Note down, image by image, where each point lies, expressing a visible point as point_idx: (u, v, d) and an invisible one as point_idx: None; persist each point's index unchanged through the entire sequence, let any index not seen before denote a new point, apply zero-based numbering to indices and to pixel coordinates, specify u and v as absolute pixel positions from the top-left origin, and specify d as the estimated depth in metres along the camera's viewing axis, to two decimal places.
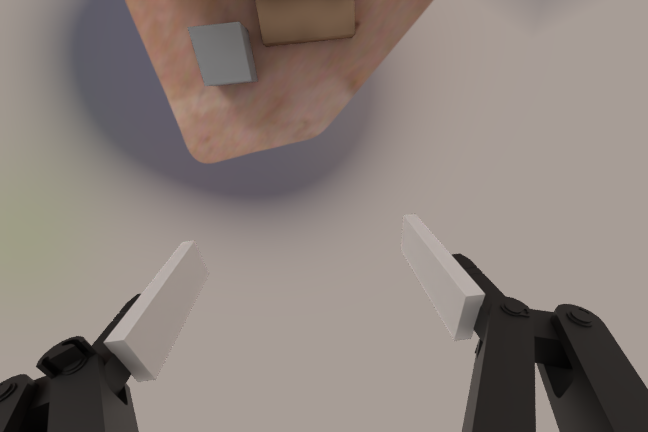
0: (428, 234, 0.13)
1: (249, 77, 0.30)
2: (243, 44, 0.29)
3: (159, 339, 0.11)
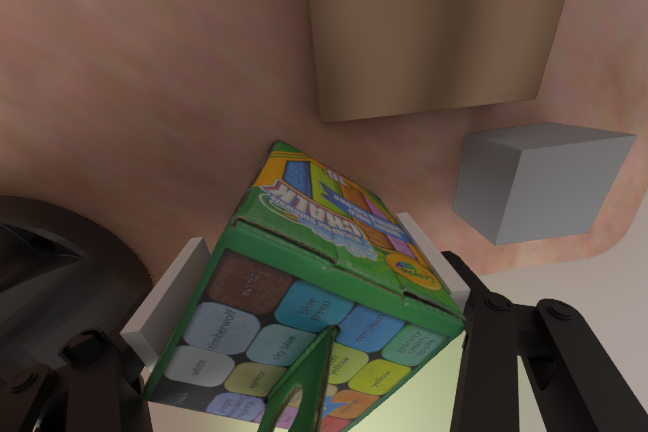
0: (419, 232, 0.13)
1: (628, 139, 0.12)
2: (561, 145, 0.12)
3: (171, 332, 0.11)
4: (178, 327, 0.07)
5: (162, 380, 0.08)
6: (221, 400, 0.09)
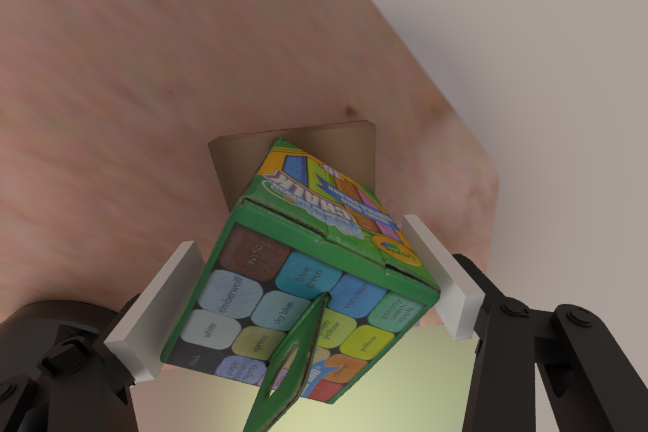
0: (428, 234, 0.13)
1: None
2: None
3: (159, 339, 0.11)
4: (194, 292, 0.08)
5: (179, 342, 0.10)
6: (229, 362, 0.10)
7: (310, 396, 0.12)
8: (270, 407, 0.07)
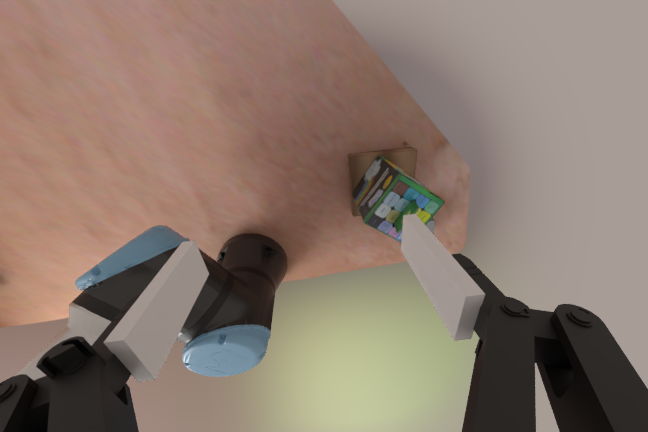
0: (428, 234, 0.13)
1: (432, 221, 0.47)
2: None
3: (159, 339, 0.11)
4: (383, 198, 0.34)
5: (373, 214, 0.35)
6: (383, 223, 0.36)
7: None
8: None
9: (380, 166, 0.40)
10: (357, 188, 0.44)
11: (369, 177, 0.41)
